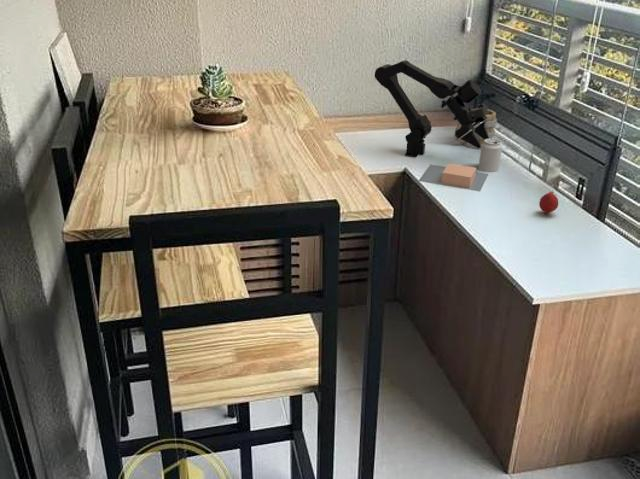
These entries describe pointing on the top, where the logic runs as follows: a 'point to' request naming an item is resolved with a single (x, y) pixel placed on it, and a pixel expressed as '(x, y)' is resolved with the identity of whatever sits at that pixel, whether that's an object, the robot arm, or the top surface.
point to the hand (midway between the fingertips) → (484, 144)
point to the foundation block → (458, 175)
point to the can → (490, 155)
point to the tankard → (489, 127)
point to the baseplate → (435, 177)
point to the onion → (548, 202)
